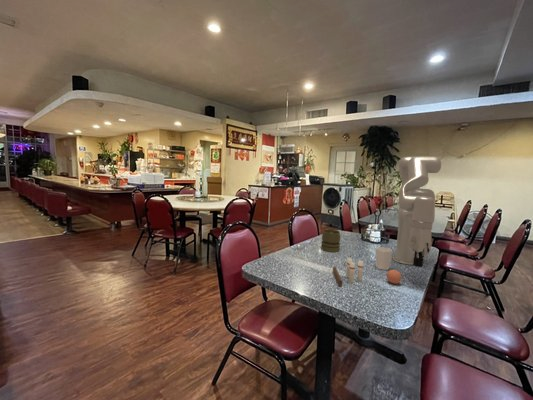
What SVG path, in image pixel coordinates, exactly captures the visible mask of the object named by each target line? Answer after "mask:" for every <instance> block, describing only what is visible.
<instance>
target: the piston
mask: <svg viewBox="0 0 533 400" xmlns="http://www.w3.org/2000/svg"><path fill="white" fill-rule="evenodd" d="M340 242H341V234H340V230H336V229H323V232H322V235H321V251H324V252H327V253H339V252H340V248H341V247H340V246H341V243H340Z"/></svg>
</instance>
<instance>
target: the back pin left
mask: <svg viewBox="0 0 533 400" xmlns="http://www.w3.org/2000/svg"><path fill="white" fill-rule="evenodd" d="M355 270H356V262H353V261H352V262H350V266H349V278H348V283H350V284H354V282H355Z"/></svg>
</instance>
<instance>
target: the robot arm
mask: <svg viewBox="0 0 533 400" xmlns="http://www.w3.org/2000/svg"><path fill="white" fill-rule="evenodd" d="M441 169H442V160H441V159H440V158H439V157H438V156H432V155H431V156H429V155H428V156H426V155H424V156H422V155H421V156H416V155H415V156H404V157H402V158H400V159H399V163H398V170H399V171H398V172H399V174H400V177H401V181H402V185H401V187H400V189H399V190H398V191H399V192H398V206H399V209H398V212H397V221H398V226H397V237H396V248H395V255H393V256H392V257H391V260H393V261H394V262H396V263H400V264H401V265H402V264H403V265H409V266H414V267H417V268H422V267H423V265H424V260H425V257H428V254H429V253H430V252H431V249H432V230H433V224H434V222H435V217H436V215H435V214H436V213H435V212H436V211H435V210H436V194H435V192H434V191H433V190H432V189H430V188H422V187H424V186H426V185H427V184H428V183H429V180H430V179H429V174H438V173H439V172H440V171H441Z"/></svg>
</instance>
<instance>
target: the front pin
mask: <svg viewBox="0 0 533 400" xmlns="http://www.w3.org/2000/svg"><path fill="white" fill-rule="evenodd" d="M357 261H358V262H357V263H358V264H357V272H356V281H357V282H362V281H363V273H364V270H363V269H364V261H363V260H357Z"/></svg>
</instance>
